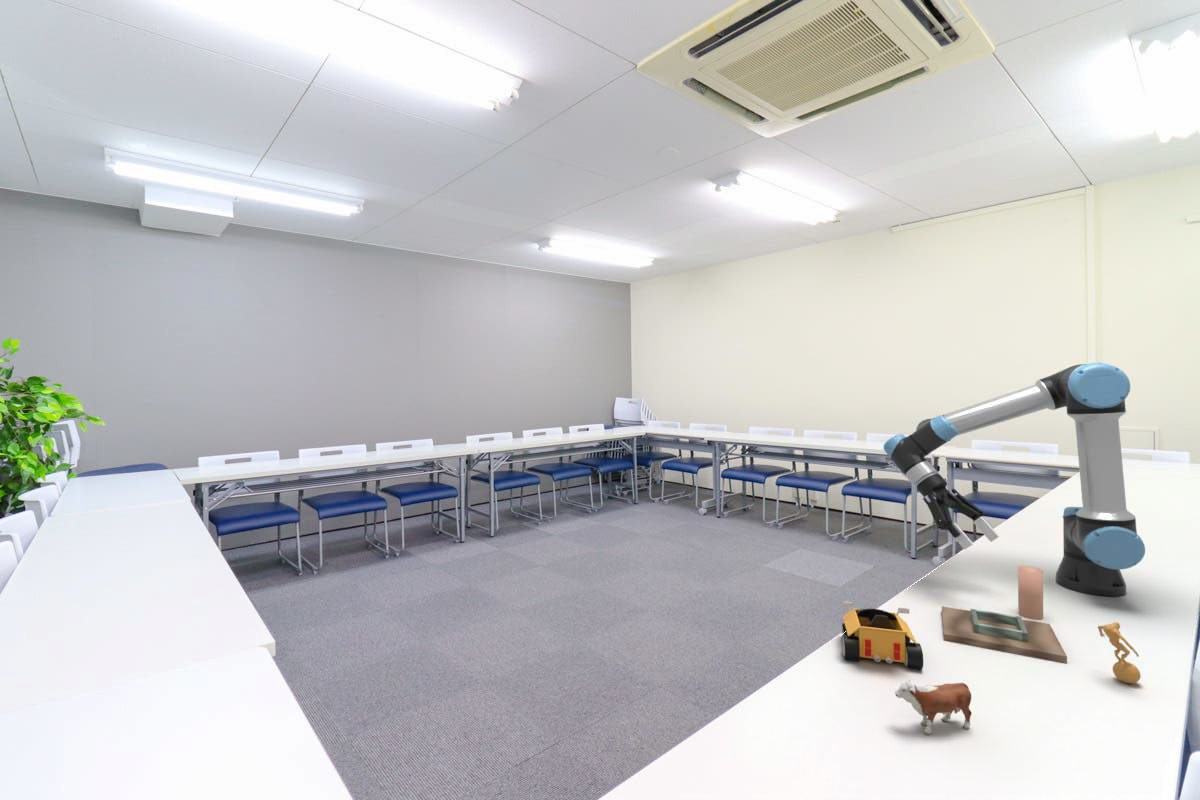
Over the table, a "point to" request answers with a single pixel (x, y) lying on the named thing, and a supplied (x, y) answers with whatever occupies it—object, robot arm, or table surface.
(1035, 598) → the pink rounded cylinder
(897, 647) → the race car
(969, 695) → the bull figurine
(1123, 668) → the figurine
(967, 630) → the jig board
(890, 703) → the table surface
